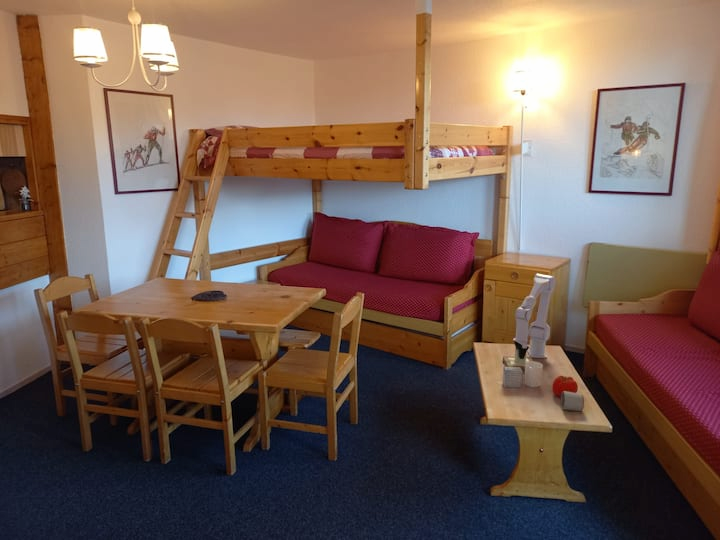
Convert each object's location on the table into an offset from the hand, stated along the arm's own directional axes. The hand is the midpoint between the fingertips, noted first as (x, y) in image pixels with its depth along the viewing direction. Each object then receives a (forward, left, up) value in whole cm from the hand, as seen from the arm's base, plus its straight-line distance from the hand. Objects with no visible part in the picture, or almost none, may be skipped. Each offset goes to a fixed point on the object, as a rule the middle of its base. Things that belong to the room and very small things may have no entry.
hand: (520, 356), depth 262 cm
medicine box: (+23, -9, -6) cm, 25 cm away
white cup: (+21, +1, -6) cm, 22 cm away
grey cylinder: (+43, +11, -6) cm, 45 cm away
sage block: (0, 0, -3) cm, 3 cm away
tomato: (+32, +12, -6) cm, 35 cm away
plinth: (0, 0, -5) cm, 5 cm away
